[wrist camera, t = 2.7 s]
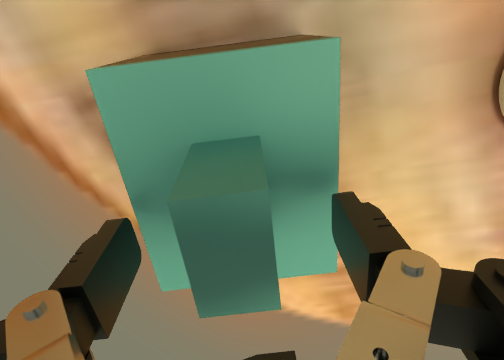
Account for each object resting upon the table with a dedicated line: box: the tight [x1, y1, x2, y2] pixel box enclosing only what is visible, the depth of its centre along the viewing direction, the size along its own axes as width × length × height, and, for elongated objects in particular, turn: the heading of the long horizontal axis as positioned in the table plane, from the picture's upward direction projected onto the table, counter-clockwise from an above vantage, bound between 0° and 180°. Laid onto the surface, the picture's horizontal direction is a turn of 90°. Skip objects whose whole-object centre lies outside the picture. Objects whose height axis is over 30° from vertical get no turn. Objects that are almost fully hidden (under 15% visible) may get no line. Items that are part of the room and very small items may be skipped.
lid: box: [85, 37, 340, 318], centre depth 13 cm, size 12×10×7 cm
